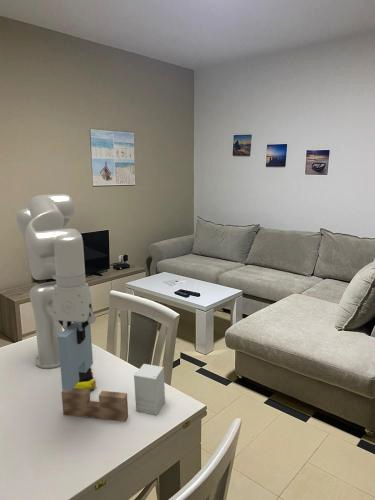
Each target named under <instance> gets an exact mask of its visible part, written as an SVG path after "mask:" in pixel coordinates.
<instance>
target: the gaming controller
mask: <svg viewBox="0 0 375 500" xmlns="http://www.w3.org/2000/svg"><path fill="white" fill-rule="evenodd" d="M96 379H97V378H96V377H95V378H94V373H93V365H92V366H91V367H90V368H89V369H88V371H87V372H86V373H84V372H79V382H78V383H77V384H76V385H75V387H74V388H79V389H90V391H93V390H94V388H95V387H96V386H97V385H96V384H97V383H96V382H97V381H96Z"/></svg>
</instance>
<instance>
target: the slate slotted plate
mask: <svg viewBox="0 0 375 500" xmlns="http://www.w3.org/2000/svg"><path fill="white" fill-rule="evenodd" d="M88 319H89V318H88ZM77 331H78V323H77V322H72V324H71V325H70V326H69V327H68V328H66V329H65V330H64V329H63V332H62V333H61V334H60V335H59V336H58V346H59V357H60V366H59V367H60V375H61V376H60V377H61V387H62V388H61V389H62V390H68V391H71V390H72V389H73V388H74V387H75V385H76V384H77V383H78V382H79V372H84V373H86V372H87V371H88V369H89V368H90V367H91V366H92V367H93V364H94V358H93V345H92V331H91V324H90V325H87V326H86V327H85V336H86V337H85V340H84V341H83V342H82V343H81V344H78V342H77Z"/></svg>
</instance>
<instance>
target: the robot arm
mask: <svg viewBox="0 0 375 500" xmlns="http://www.w3.org/2000/svg"><path fill="white" fill-rule="evenodd" d="M75 213H76V205H75V202H74V199H73V198H72V196H70V195H68V194H66V193H56V194H55V193H53V194H52V193H51V194H39V195H36V196H33V197H32V198H31V199H30V200H29V202H28V206H27V207H26V208H23V209H20V210H19V211H17V212H16V223H17V224H16V225H17V227H18V229H19V232H20V234H21V236H22V237H23V240H24V242H25V245H26V248H27V257H28V262H29V263H28V264H29V269H30V274H31V277H32V278H33V279H34V280H38V281H42V280H50V279H53V280H55V281H49V282H44V283H39V284H36V285H33V287H31V288H30V290H29V299H30V303H31V307H32V310H33V315H34V325H35V333H36V342H37V352H38V353H37V354H38V355H37V357H35V359H34V364H35V366H36V367H39V368H40V369H54V368H58V367H60V357H59V346H58V336H59V335H60V334H61V333H62V332H63V331H64V330H65V329H66V328H68V327H69V326H70V325H71V324H72V323H73V322H77V323H78V331H77V342H78V344H81V343H82V342H83V341H84V340H85V337H86V336H85V327H86V326H87V325H90V326H91V325H92V324H94V323H96V321H97V318H96V316H95V314H94V308H93V307H94V305H93V299H92V298H93V297H92V294H91V290H90V286H89V283H88V282H87V280H86V279H87V278H86V268H85V266H86V265H85V252H84V240H83V236H82V234H81V233H80V232H79V230H77V229H75V228H67V227H68V226H69V225H70V223H71V222H72V220H73V218H74V216H75ZM88 318H89V319H88Z"/></svg>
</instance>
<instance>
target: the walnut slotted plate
mask: <svg viewBox="0 0 375 500" xmlns="http://www.w3.org/2000/svg"><path fill="white" fill-rule="evenodd" d="M90 392H91V390H90V389H79V388H73V389H72V390H71V391H68V390H62V391H61V401H62V402H61V403H62V413H63V414H62V415H65V416H71V417H72V416H73V417H81V418H90V419H99V420H108V421H115V422H116V421H117V422H126V421H127V419H128V417H129V407H128V406H129V405H128V404H129V403H128V393H127V392H120V391H118V392H117V391H107V390H100V393H99V394H98V401H93V400H91V393H90Z"/></svg>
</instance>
